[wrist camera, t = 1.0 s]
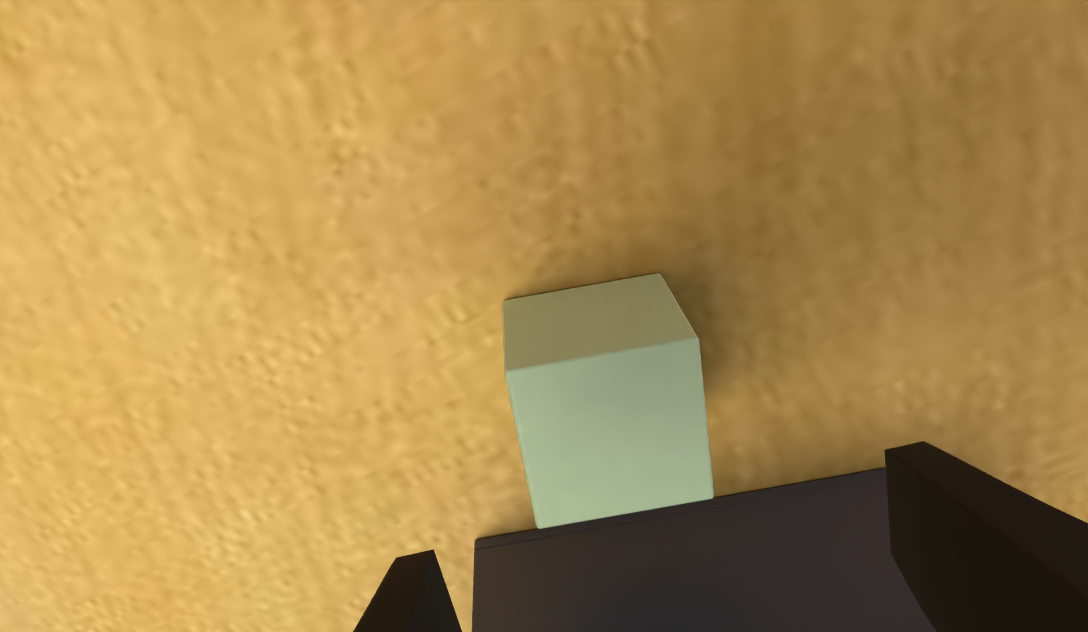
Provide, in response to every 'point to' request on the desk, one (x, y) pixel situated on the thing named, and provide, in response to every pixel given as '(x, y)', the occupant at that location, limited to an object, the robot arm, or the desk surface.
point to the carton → (707, 567)
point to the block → (607, 400)
